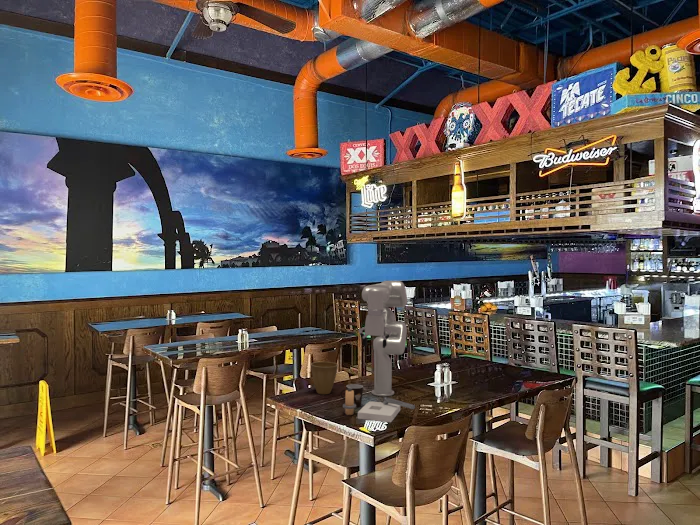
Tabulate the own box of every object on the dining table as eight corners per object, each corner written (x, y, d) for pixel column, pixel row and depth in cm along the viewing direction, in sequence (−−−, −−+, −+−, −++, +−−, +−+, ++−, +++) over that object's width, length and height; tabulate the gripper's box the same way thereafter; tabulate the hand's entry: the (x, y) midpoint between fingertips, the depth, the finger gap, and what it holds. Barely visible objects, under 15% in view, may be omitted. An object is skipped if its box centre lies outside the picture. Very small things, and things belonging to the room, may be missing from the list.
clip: (382, 403, 260) (382, 397, 260) (385, 402, 262) (385, 396, 262) (411, 412, 246) (412, 406, 246) (415, 411, 248) (415, 405, 248)
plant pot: (318, 397, 281) (318, 367, 281) (306, 391, 294) (306, 362, 294) (342, 394, 289) (342, 365, 289) (329, 388, 302) (329, 360, 301)
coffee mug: (362, 403, 271) (362, 384, 271) (363, 408, 263) (363, 388, 262) (339, 403, 271) (340, 384, 271) (340, 408, 262) (340, 388, 262)
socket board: (369, 407, 265) (369, 401, 265) (400, 410, 260) (400, 404, 260) (357, 418, 246) (357, 412, 246) (391, 422, 241) (391, 415, 241)
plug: (345, 411, 257) (345, 386, 257) (357, 412, 255) (358, 387, 255) (340, 414, 251) (341, 389, 251) (353, 416, 249) (354, 390, 249)
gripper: (393, 313, 267) (393, 346, 267) (361, 311, 272) (360, 344, 272) (390, 314, 259) (389, 349, 260) (356, 313, 265) (356, 346, 265)
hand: (374, 346), depth 266 cm, fingers open, 9 cm apart
